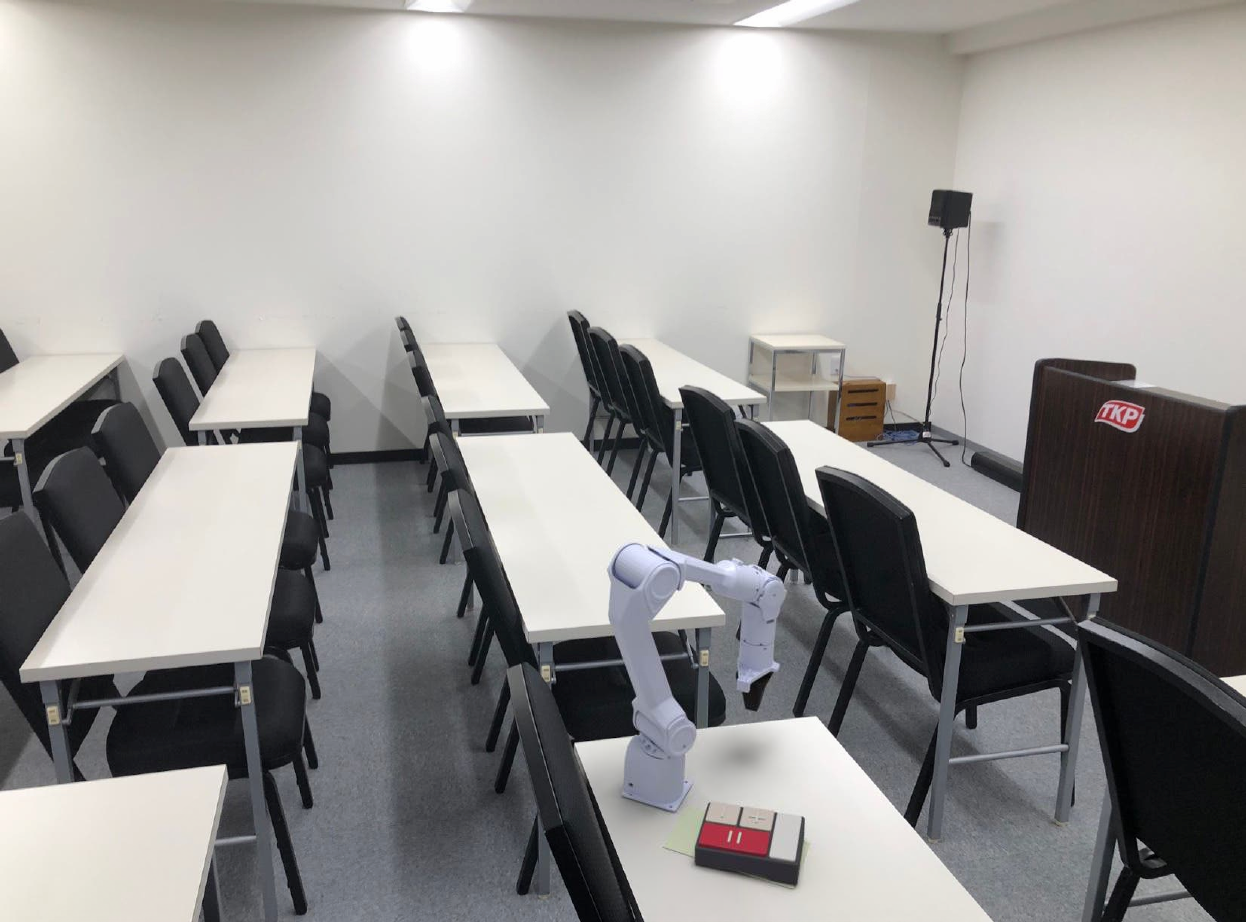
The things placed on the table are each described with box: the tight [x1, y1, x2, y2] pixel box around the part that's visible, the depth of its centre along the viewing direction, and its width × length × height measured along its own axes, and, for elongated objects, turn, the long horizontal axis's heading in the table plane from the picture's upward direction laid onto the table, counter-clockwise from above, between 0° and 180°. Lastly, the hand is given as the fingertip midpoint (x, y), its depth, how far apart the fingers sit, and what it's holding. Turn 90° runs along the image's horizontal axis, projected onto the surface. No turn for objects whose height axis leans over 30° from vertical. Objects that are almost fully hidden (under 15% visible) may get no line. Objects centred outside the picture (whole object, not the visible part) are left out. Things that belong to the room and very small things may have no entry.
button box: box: [694, 800, 806, 886], centre depth 141 cm, size 11×4×15 cm
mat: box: [662, 805, 811, 890], centre depth 143 cm, size 20×10×1 cm, turn 66°
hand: (752, 708), depth 162 cm, fingers closed
